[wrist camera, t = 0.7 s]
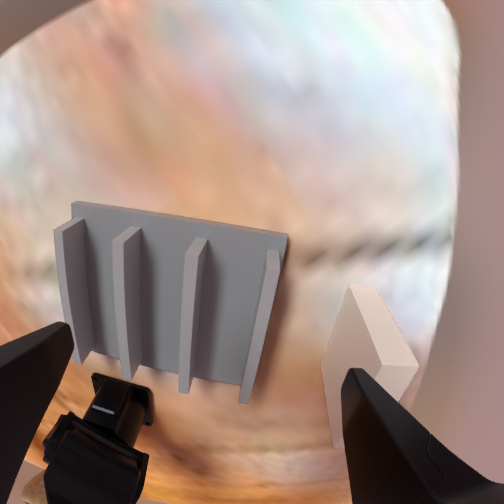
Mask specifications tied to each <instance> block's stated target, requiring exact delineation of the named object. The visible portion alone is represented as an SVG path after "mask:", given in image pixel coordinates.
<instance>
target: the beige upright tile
mask: <svg viewBox="0 0 504 504" xmlns="http://www.w3.org/2000/svg"><path fill="white" fill-rule="evenodd" d="M320 367H321V373H322V379H323V385H324V391H325V397H326V404H327V410H328V417H329V424H330V431H331V438H332V445H333V449H345V447H344V440H343V433H342V411H341V386H342V384H343V381H344V379H345V376H346V374H347V371H348V370H349V368H352V367H353V368H363V369H364V370H365V371H366V372H367V373H368V374H369V375H370V376H371V377H372V378H373V379H374V380H375V381H376V382H378V383H379V384H380V385H381V386H382V387H383V388H384V389H385V390H386V391H387V392H388V393H389V394H390V395H391V396H392V397H393V398H394V399H395V400H396V401H397V402H398V401H399V400H400V398H401V397H402V395H403V393H404V392H405V390H406V389H407V387H408V385H409V384H410V382H411V380H412V379H413V377H414V375H415V373H416V372H417V370H418V368H419V365H418V363H417V361H416V359H415V357H414V355H413V353H412V351H411V349H410V347H409V345H408V343H407V341H406V340H405V338H404V336H403V334H402V332H401V330H400V328H399V327H398V325H397V323H396V321H395V319H394V318H393V316H392V314H391V312H390V310H389V309H388V307H387V305H386V303H385V302H384V300H383V298H382V296H381V295H380V293H379V291H378V290H377V288H370V287H364V286H357V285H351V284H348V287H347V290H346V293H345V296H344V299H343V302H342V305H341V308H340V311H339V314H338V317H337V320H336V323H335V326H334V328H333V331H332V334H331V337H330V339H329V342H328V345H327V347H326V350H325V353H324V355H323V358H322V361H321V363H320Z"/></svg>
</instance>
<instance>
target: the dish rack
mask: <svg viewBox="0 0 504 504" xmlns="http://www.w3.org/2000/svg"><path fill="white" fill-rule="evenodd" d="M71 206H72V219H71V220H69V221H68V222H66V223H64V224H63V225H61V226H59V227H57V228H56V229H54V243H55V255H56V265H57V273H58V281H59V288H60V295H61V302H62V308H63V313H64V319H65V323H67V324H69V325H70V327H71V331H72V335H73V340H74V351H73V353H72V357H73V361H74V362H75V363H77V364H80V365H82V363H83V362H84V360H85V359H86V357H87V356H88V354H89V353H90V352H91V351H94V352H97V353H100V354H104V355H107V356H110V357H114V358H117V359H120V362H121V369H122V376H123V378H125V379H129V380H132V378H133V376H134V374H135V372H136V370H137V368H138V366H139V365H143V366H147V367H151V368H155V369H160V370H164V371H168V372H173V373H177V374H179V392H181V393H186V394H189V390H190V387H191V383H192V380H193V377H196V378H201V379H207V380H212V381H218V382H223V383H229V384H235V385H241V386H240V394H239V402H238V403H241V404H249V401H250V397H251V393H252V389H253V387H254V383H255V379H256V375H257V371H258V367H259V363H260V358H261V354H262V350H263V346H264V342H265V338H266V333H267V329H268V325H269V320H270V316H271V312H272V307H273V303H274V299H275V294H276V290H277V285H278V281H279V276H280V272H281V267H282V263H283V258H284V253H285V249H286V244H287V239H288V236H287V234H285V233H279V232H273V231H268V230H262V229H256V228H250V227H244V226H238V225H232V224H226V223H220V222H214V221H208V220H202V219H195V218H189V217H183V216H176V215H170V214H163V213H157V212H150V211H144V210H137V209H130V208H123V207H116V206H109V205H102V204H95V203H88V202H81V201H76V202H74V203H72V204H71Z"/></svg>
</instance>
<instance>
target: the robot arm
mask: <svg viewBox="0 0 504 504" xmlns="http://www.w3.org/2000/svg"><path fill="white" fill-rule="evenodd" d="M73 351H74V340H73V335H72V331H71V327H70V325H69V324H67V323H64V322H60V321H59V322H56V323H53V324H51V325H49V326H46V327H44V328H41V329H39V330H37V331H34V332H32V333H29V334H27V335H25V336H22V337H20V338H18V339H15V340H13V341H10V342H8V343H6V344H3V345H1V346H0V504H6V503H7V501H8V498H9V495H10V492H11V490H12V487H13V485H14V482H15V479H16V477H17V474H18V472H19V469H20V467H21V464H22V462H23V460H24V458H25V455H26V453H27V451H28V448H29V446H30V444H31V442H32V440H33V437H34V435H35V433H36V431H37V429H38V427H39V425H40V423H41V420H42V418H43V416H44V414H45V412H46V410H47V408H48V406H49V404H50V402H51V400H52V398H53V396H54V394H55V393H56V391H57V389H58V387H59V384H60V382H61V380H62V377H63V375H64V372H65V370H66V367H67V365H68V363H69V360H70V358H71V355H72V353H73ZM91 378H92V382H93V386H94V390H95V394H96V395H95V397H94V399H93V401H92V402H91V404H90V406H89V408H88V410H87V412H86V413H85V415H84V417H83V419H81V418H79V417H78V416H76V415H74V413H73V412H71V411H70V412H69V413H68V415H62V414H61V416H60V417H59V419H58V421H57V423H56V424H55V426H54V427H53V428H52V430H51V431H50V432H49V434H48V435H47V436H46V438H45V439H44V441H43V446H44V449H45V451H44V454H45V455H44V458H43V461H44V462H46V463H47V464H49V465H48V467H47V469H46V471H45V473H44V476H43V479H44V487H45V494H46V499H47V504H136V502H137V500H138V499H139V497H140V495H141V492H142V490H143V486H144V482H145V476H146V471H147V465H148V460H149V455H148V454H146V453H142V452H140V451H138V450H136V449H134V448H133V447H134V445H135V442H136V439H137V437H138V434H139V431H140V429H141V426H142V425H146V426H152V423H153V419H152V409H151V398H150V390H149V389H148V388H146V387H142V386H138V385H135V384H131V383H128V382H124V381H121V380H117V379H114V378H110V377H107V376H104V375H101V374H98V373H93V374H92V376H91ZM341 411H342V433H343V440H344V447H345V453H346V460H347V466H348V473H349V480H350V488H351V495H352V503H353V504H504V484H501V483H495V482H493V481H490V480H488V479H486V478H485V477H483V476H482V475H481V474H479V473H478V472H477V471H475V470H474V469H473V468H471V467H470V466H469V465H467V464H466V463H465V462H463V461H462V460H461V459H460V458H458V457H457V456H456V455H455V454H453V453H452V452H451V451H450V450H448V449H447V448H446V447H445V446H444V445H443V444H442V443H441V442H440V441H438V440H437V439H436V438H435V437H434V436H433V435H432V434H430V432H429V431H428V430H427V429H426V428H425V427H423V425H421V424H420V423H419V422H418V421H417V420H416V419H415V418H414V417H413V416H412V415H411V414H410V413H409V412H408V411H407V410H406V409H405V408H404V407H403V406H402V405H401V404H399V403H398V402H397V401H396V400H395V399H394V398H393V397H392V396H391V395H390V394H389V393H388V392H387V391H386V390H385V389H384V388H383V387H382V386H381V385H380V384H379V383H378V382H376V381H375V380H374V379H373V378H372V377H371V376H370V375H369V374H368V373H367V372H366V371H365V370H364V369H363V368H353V367H352V368H349V370H348V371H347V374H346V376H345V379H344V381H343V384H342V386H341Z"/></svg>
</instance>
